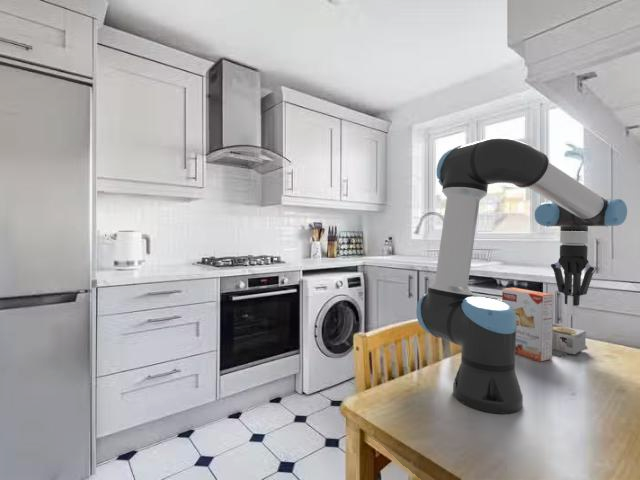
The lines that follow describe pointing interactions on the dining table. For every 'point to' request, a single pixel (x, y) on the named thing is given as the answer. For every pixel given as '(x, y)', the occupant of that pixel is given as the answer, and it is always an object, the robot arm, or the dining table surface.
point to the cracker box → (532, 322)
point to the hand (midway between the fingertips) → (571, 314)
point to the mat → (559, 353)
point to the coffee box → (568, 339)
